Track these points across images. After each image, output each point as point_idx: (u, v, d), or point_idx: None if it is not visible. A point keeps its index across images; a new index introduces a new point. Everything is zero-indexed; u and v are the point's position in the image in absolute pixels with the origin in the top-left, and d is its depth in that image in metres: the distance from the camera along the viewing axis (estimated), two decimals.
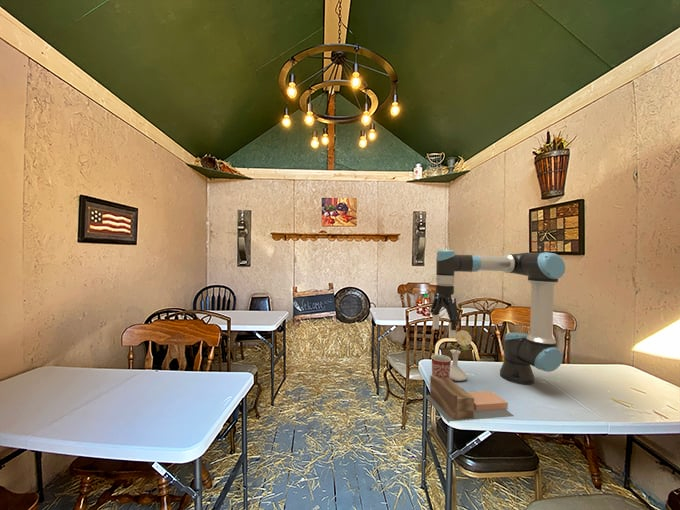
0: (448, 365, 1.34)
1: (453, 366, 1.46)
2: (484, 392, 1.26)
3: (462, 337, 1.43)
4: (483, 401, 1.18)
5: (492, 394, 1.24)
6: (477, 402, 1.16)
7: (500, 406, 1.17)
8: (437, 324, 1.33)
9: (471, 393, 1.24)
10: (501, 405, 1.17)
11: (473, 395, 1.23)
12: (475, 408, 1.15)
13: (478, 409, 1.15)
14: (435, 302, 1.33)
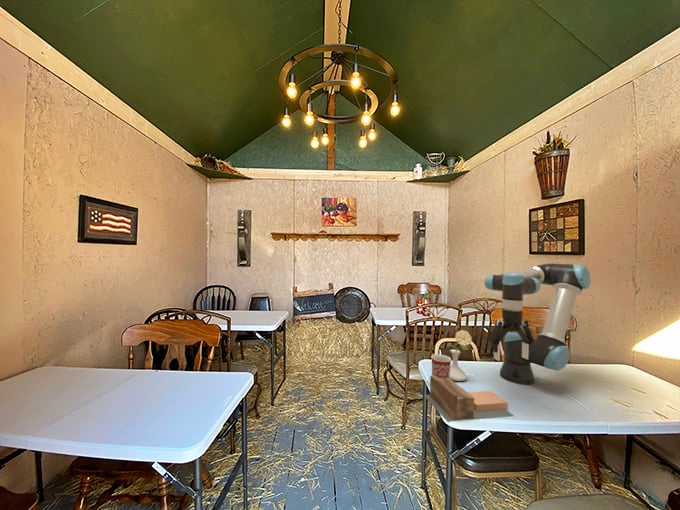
0: (448, 365, 1.34)
1: (453, 366, 1.46)
2: (484, 392, 1.26)
3: (462, 337, 1.43)
4: (483, 401, 1.18)
5: (492, 394, 1.24)
6: (477, 402, 1.16)
7: (500, 406, 1.17)
8: (525, 353, 1.24)
9: (471, 393, 1.24)
10: (501, 405, 1.17)
11: (473, 395, 1.23)
12: (475, 408, 1.15)
13: (478, 409, 1.15)
14: (524, 329, 1.25)
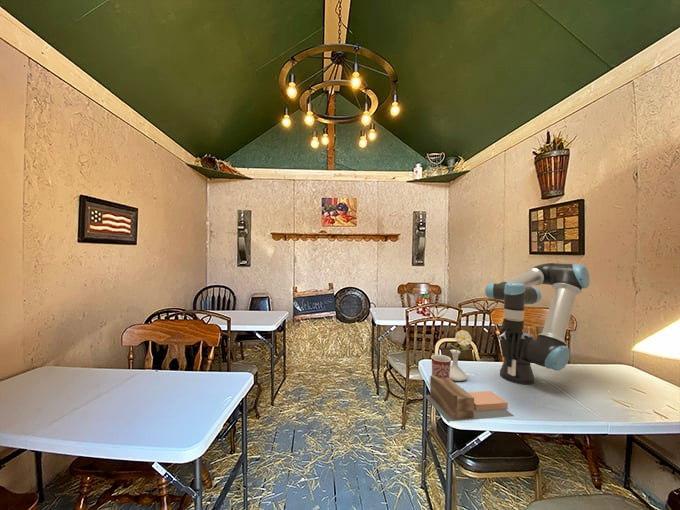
0: (448, 365, 1.34)
1: (453, 366, 1.46)
2: (484, 392, 1.26)
3: (462, 337, 1.43)
4: (483, 401, 1.18)
5: (492, 394, 1.24)
6: (477, 402, 1.16)
7: (500, 406, 1.17)
8: None
9: (471, 393, 1.24)
10: (501, 405, 1.17)
11: (473, 395, 1.23)
12: (475, 408, 1.15)
13: (478, 409, 1.15)
14: None
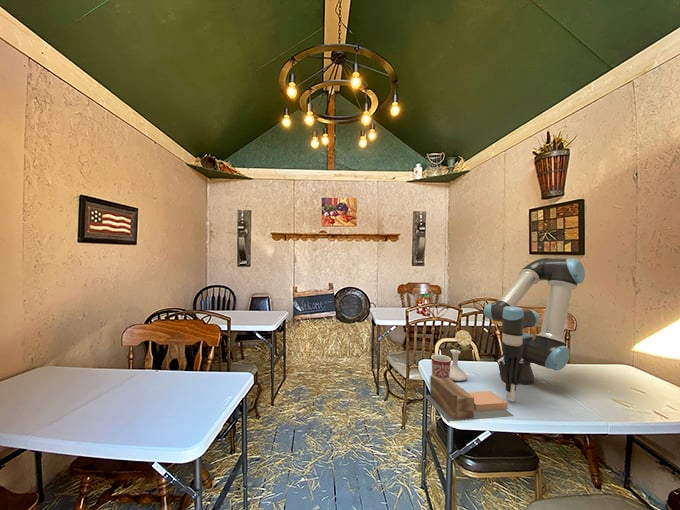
0: (448, 365, 1.34)
1: (453, 366, 1.46)
2: (484, 392, 1.26)
3: (462, 337, 1.43)
4: (483, 401, 1.18)
5: (492, 394, 1.24)
6: (477, 402, 1.16)
7: (500, 406, 1.17)
8: None
9: (471, 393, 1.24)
10: (501, 405, 1.17)
11: (473, 395, 1.23)
12: (475, 408, 1.15)
13: (478, 409, 1.15)
14: (517, 367, 1.24)
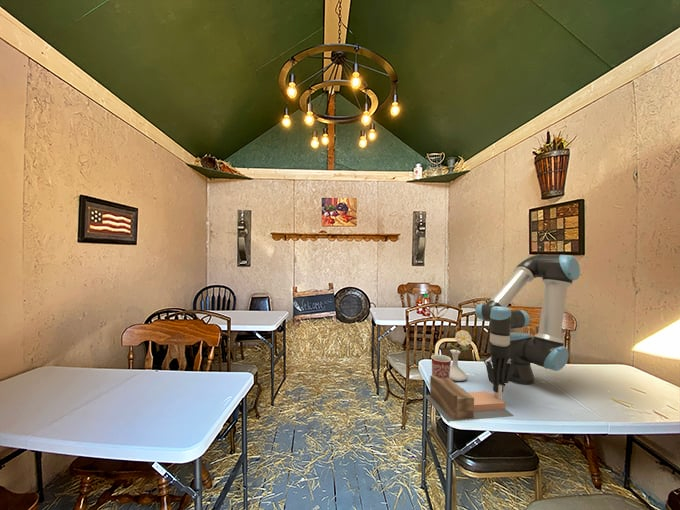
0: (448, 365, 1.34)
1: (453, 366, 1.46)
2: (482, 392, 1.25)
3: (462, 337, 1.43)
4: (481, 401, 1.18)
5: (490, 394, 1.24)
6: (475, 403, 1.16)
7: (497, 406, 1.16)
8: None
9: (469, 393, 1.24)
10: (498, 405, 1.17)
11: (471, 395, 1.22)
12: None
13: (475, 409, 1.15)
14: (505, 367, 1.23)
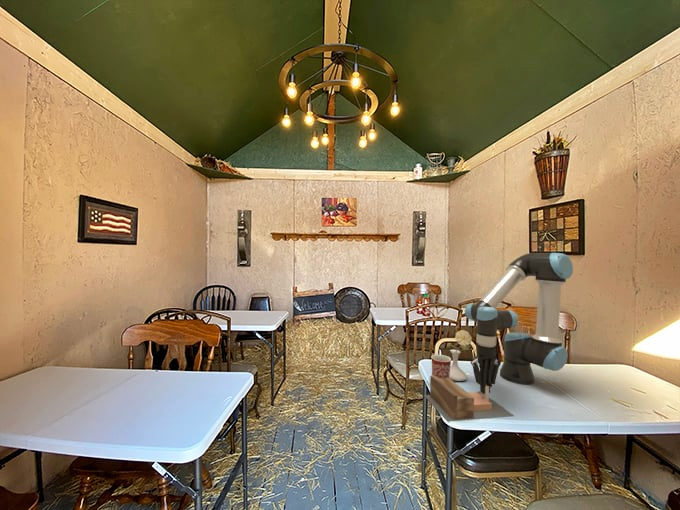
0: (448, 365, 1.34)
1: (453, 366, 1.46)
2: (469, 393, 1.24)
3: (462, 337, 1.43)
4: None
5: (477, 395, 1.23)
6: None
7: (484, 407, 1.16)
8: None
9: None
10: (485, 406, 1.16)
11: None
12: None
13: None
14: (492, 368, 1.22)
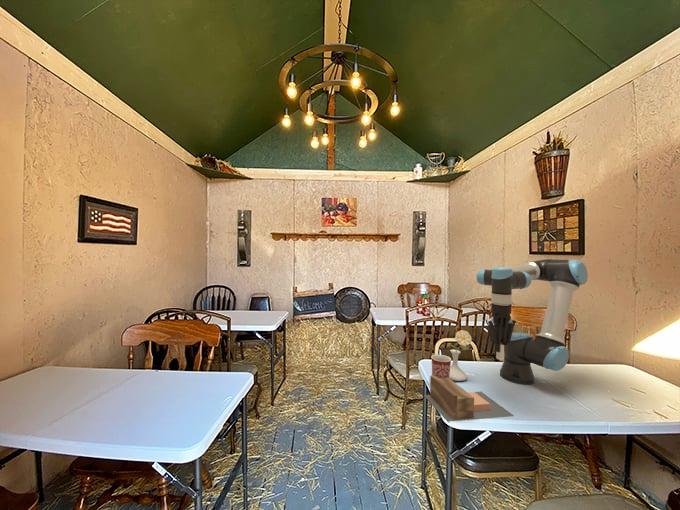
0: (448, 365, 1.34)
1: (453, 366, 1.46)
2: None
3: (462, 337, 1.43)
4: None
5: (475, 395, 1.23)
6: None
7: (482, 407, 1.15)
8: None
9: None
10: (483, 406, 1.15)
11: None
12: None
13: None
14: (507, 327, 1.23)
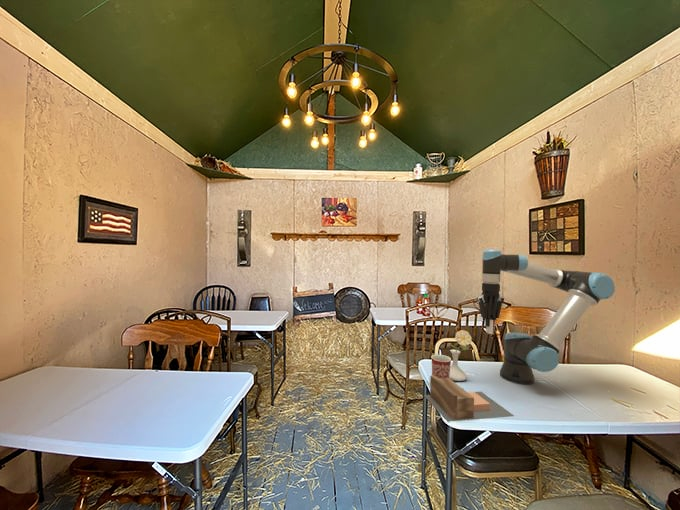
0: (448, 365, 1.34)
1: (453, 366, 1.46)
2: None
3: (462, 337, 1.43)
4: None
5: (475, 395, 1.23)
6: None
7: (482, 407, 1.15)
8: None
9: None
10: (483, 406, 1.15)
11: None
12: None
13: None
14: (496, 304, 1.36)
